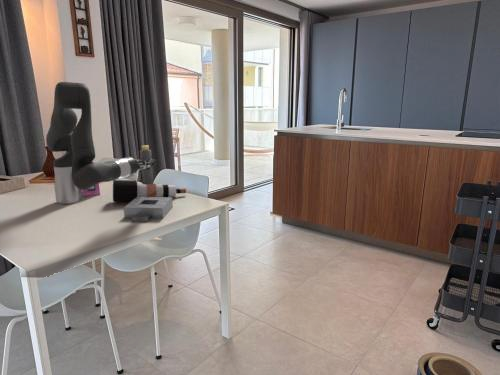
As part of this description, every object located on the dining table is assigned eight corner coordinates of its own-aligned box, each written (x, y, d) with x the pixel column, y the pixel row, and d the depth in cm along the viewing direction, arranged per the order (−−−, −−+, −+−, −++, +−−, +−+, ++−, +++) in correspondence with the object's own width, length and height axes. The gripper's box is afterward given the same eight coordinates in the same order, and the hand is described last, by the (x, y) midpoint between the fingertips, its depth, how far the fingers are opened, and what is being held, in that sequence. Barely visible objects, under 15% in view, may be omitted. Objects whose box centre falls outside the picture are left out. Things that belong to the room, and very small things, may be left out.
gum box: (100, 195, 178) (98, 169, 174) (83, 197, 174) (80, 170, 171) (96, 185, 198) (93, 161, 195) (80, 186, 195) (77, 162, 191)
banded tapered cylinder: (185, 205, 177) (189, 190, 171) (113, 206, 163) (114, 189, 157) (182, 192, 184) (185, 177, 178) (112, 191, 170) (113, 175, 164)
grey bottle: (140, 184, 147) (138, 146, 143) (144, 182, 151) (141, 144, 147) (151, 184, 146) (148, 146, 143) (154, 182, 151) (152, 145, 147)
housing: (120, 221, 141) (119, 210, 139) (140, 203, 164) (140, 194, 163) (160, 221, 140) (159, 211, 139) (174, 204, 163) (174, 194, 162)
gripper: (136, 159, 130) (164, 153, 145) (106, 157, 135) (136, 151, 151) (138, 179, 132) (165, 171, 147) (108, 176, 137) (137, 168, 152)
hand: (150, 161), depth 149 cm, fingers closed on grey bottle, 4 cm apart
